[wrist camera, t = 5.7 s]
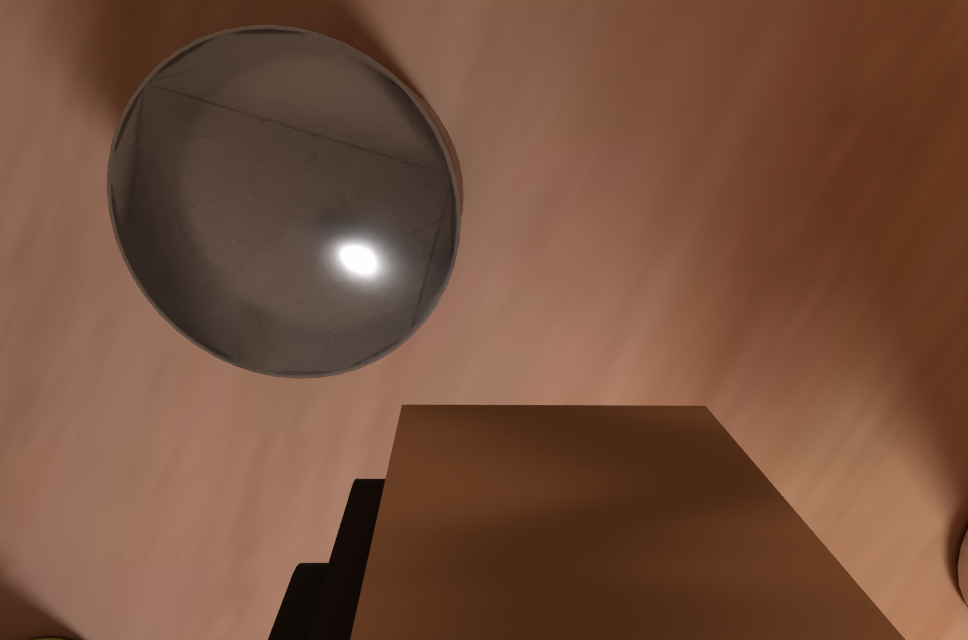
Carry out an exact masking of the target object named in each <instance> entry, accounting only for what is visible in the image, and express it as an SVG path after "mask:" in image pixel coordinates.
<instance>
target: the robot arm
mask: <svg viewBox="0 0 968 640" xmlns="http://www.w3.org/2000/svg"><path fill="white" fill-rule="evenodd" d="M385 480H386V479H355V480H354V482H353V485H352V488H351V492H350V495H349V498H348V501H347V505H346V508H345V511H344V514H343V518H342V521H341V524H340V528H339V531H338V534H337V537H336V541H335V544H334V547H333V550H332V554H331V557H330V560H329V563H300V564H299V565H298V566H297V567H296V569H295V571H294V573H293V575H292V577H291V580H290V583H289V585H288V588H287V591H286V593H285V596H284V599H283V601H282V604H281V607H280V609H279V612H278V614H277V617H276V620H275V622H274V625H273V628H272V630H271V633H270V636H269V638H268V640H350V638H351V634H352V629H353V625H354V620H355V616H356V611H357V607H358V602H359V598H360V593H361V589H362V584H363V579H364V575H365V570H366V566H367V561H368V557H369V552H370V548H371V543H372V539H373V534H374V530H375V525H376V520H377V516H378V511H379V507H380V502H381V498H382V493H383V489H384V484H385ZM958 578H959V587H960V589H961V592H962V595H963V598H964V601H965V603H966V604H967V606H968V529H967V532H966V535H965V537H964V540H963V542H962V545H961V549H960V555H959V561H958Z"/></svg>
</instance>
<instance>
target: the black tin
mask: <svg viewBox="0 0 968 640" xmlns="http://www.w3.org/2000/svg"><path fill="white" fill-rule="evenodd" d="M107 195H108V205H109V214H110V218H111V222H112V226H113V231H114V235H115V238H116V241H117V244H118V246H119V249H120V252H121V254H122V257H123V259H124V261H125V263H126V265H127V267H128V269H129V271H130V273H131V275H132V277H133V279H134V280H135V282H136V283H137V285H138V286H139V288H140V289H141V291H142V292H143V294H144V296H145V297H146V298H147V300H148V301H149V302H150V303H151V304H152V306H153V307H154V308H155V309H156V310H157V312H158V313H159V314H160V315H161V316H162V317H163V318H164V319H165V320H166V321H167V322H168V323H169V324H170V325H171V326H172V327H173V328H174V329H176V330H177V331H178V332H179V333H180V334H182V335H183V336H184V337H186V338H187V339H188V340H189V341H191V342H192V343H193V344H195V345H196V346H198V347H200V348H201V349H203V350H205V351H206V352H208V353H210V354H211V355H213V356H215V357H217V358H219V359H221V360H223V361H226V362H228V363H230V364H232V365H234V366H237V367H240V368H243V369H246V370H249V371H253V372H256V373H260V374H265V375H270V376H275V377H285V378H298V379H299V378H320V377H326V376H333V375H339V374H342V373H346V372H349V371H353V370H356V369H359V368H361V367H364V366H366V365H368V364H371V363H373V362H375V361H377V360H379V359H381V358H382V357H384V356H386V355H387V354H389V353H391V352H392V351H394V350H395V349H397V348H398V347H399V346H400V345H402V344H403V343H404V342H405V341H406V340H408V339H409V338H410V337H411V336H412V335H413V334H414V333H415V332H416V331H417V330H418V329H419V328H420V327H421V326H422V325H423V323H424V322H425V321H426V320H427V318H428V317H429V315H430V314H431V313H432V311H433V310H434V308H435V307H436V306H437V304H438V302H439V300H440V298H441V296H442V294H443V292H444V291H445V289H446V287H447V284H448V281H449V279H450V276H451V273H452V270H453V267H454V264H455V259H456V254H457V250H458V245H459V238H460V226H461V215H462V207H463V180H462V174H461V169H460V163H459V160H458V157H457V154H456V151H455V147H454V145H453V143H452V141H451V139H450V136H449V134H448V132H447V130H446V129H445V127H444V125H443V124H442V122H441V121H440V119H439V117H438V116H437V115H436V113H435V112H434V111H433V110H432V109H431V107H430V106H429V105H428V104H427V102H426V101H424V100H423V99H422V98H421V97H420V96H419V95H418V94H417V93H416V92H415V91H414V90H413V89H411V88H410V87H409V86H407V85H406V84H405V83H403V82H402V81H401V80H399V79H398V78H397V77H396V76H395V75H394V74H393V73H392V72H390V71H389V70H387V69H386V68H385V67H383V66H382V65H381V64H379V63H378V62H377V61H375V60H374V59H373V58H371V57H370V56H368V55H366V54H365V53H363V52H361V51H359V50H357V49H356V48H354V47H352V46H350V45H348V44H347V43H345V42H342V41H340V40H337V39H334V38H332V37H329V36H327V35H324V34H322V33H318V32H314V31H310V30H306V29H302V28H298V27H291V26H281V25H271V24H270V25H247V26H241V27H235V28H230V29H225V30H221V31H218V32H215V33H212V34H209V35H206V36H204V37H201V38H198V39H196V40H194V41H193V42H191V43H189V44H187V45H185V46H183V47H182V48H180V49H178V50H176V51H175V52H174V53H172V54H171V55H170V56H169V57H167V58H166V59H165V60H163V61H162V62H161V63H159V64H158V65H157V66H156V67H155V68H154V69H153V70H152V71H151V73H150V74H149V75H148V76H147V77H146V78H145V79H144V80H143V81H142V82H141V84H140V85H139V87H138V88H137V89H136V91H135V92H134V94H133V95H132V97H131V98H130V99H129V101H128V103H127V105H126V107H125V109H124V111H123V113H122V115H121V117H120V120H119V122H118V125H117V128H116V131H115V134H114V137H113V140H112V144H111V150H110V156H109V162H108V172H107Z"/></svg>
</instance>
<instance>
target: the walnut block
mask: <svg viewBox="0 0 968 640" xmlns="http://www.w3.org/2000/svg"><path fill="white" fill-rule="evenodd" d="M350 640H905V639H904V638H903V637H902V635H901V634H900V633H899V632H898V631H897V630H896V628H895V627H894V626H893V625H892V624H891V623H890V621H889V620H888V619H887V618H886V617H885V616H884V614H883V613H882V612H881V611H880V610H879V609H878V607H877V606H876V605H875V604H874V603H873V601H872V600H871V599H870V598H869V597H868V596H867V594H866V593H865V592H864V591H863V590H862V589H861V587H860V586H859V585H858V584H857V583H856V582H855V580H854V579H853V578H852V577H851V576H850V575H849V573H848V572H847V571H846V570H845V569H844V568H843V566H842V565H841V564H840V563H839V562H838V561H837V559H836V558H835V557H834V556H833V555H832V554H831V552H830V551H829V550H828V549H827V548H826V547H825V545H824V544H823V543H822V542H821V541H820V539H819V538H818V537H817V536H816V535H815V534H814V532H813V531H812V530H811V529H810V528H809V527H808V525H807V524H806V523H805V522H804V521H803V520H802V518H801V517H800V516H799V515H798V514H797V513H796V511H795V510H794V509H793V508H792V507H791V506H790V504H789V503H788V502H787V501H786V500H785V499H784V497H783V496H782V495H781V494H780V493H779V492H778V490H777V489H776V488H775V487H774V486H773V485H772V483H771V482H770V481H769V480H768V479H767V477H766V476H765V475H764V474H763V473H762V472H761V470H760V469H759V468H758V467H757V466H756V465H755V463H754V462H753V461H752V460H751V459H750V458H749V456H748V455H747V454H746V453H745V452H744V451H743V449H742V448H741V447H740V446H739V445H738V444H737V442H736V441H735V440H734V439H733V438H732V437H731V435H730V434H729V433H728V432H727V431H726V430H725V428H724V427H723V426H722V425H721V424H720V423H719V421H718V420H717V419H716V418H715V417H714V415H713V414H712V413H711V412H710V411H709V410H708V408H707V407H706V406H597V405H402V407H401V412H400V416H399V421H398V425H397V430H396V434H395V439H394V443H393V448H392V452H391V457H390V462H389V466H388V471H387V475H386V480H385V484H384V489H383V493H382V498H381V502H380V507H379V511H378V516H377V520H376V525H375V530H374V534H373V539H372V543H371V548H370V552H369V557H368V561H367V566H366V570H365V575H364V579H363V584H362V589H361V593H360V598H359V602H358V607H357V611H356V616H355V620H354V625H353V629H352V634H351V638H350Z"/></svg>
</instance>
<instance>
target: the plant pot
mask: <svg viewBox="0 0 968 640" xmlns="http://www.w3.org/2000/svg"><path fill="white" fill-rule="evenodd" d="M34 640H65V639H59V638H40V639H34Z"/></svg>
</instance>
